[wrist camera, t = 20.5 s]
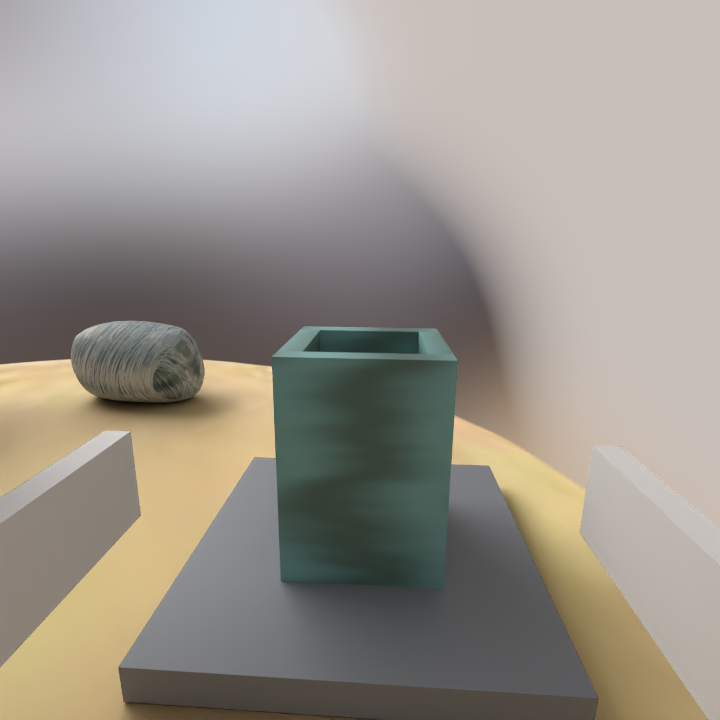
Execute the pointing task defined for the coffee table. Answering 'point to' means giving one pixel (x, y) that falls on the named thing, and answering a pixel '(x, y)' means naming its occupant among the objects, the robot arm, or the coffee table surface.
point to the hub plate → (361, 626)
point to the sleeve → (364, 455)
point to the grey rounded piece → (138, 362)
